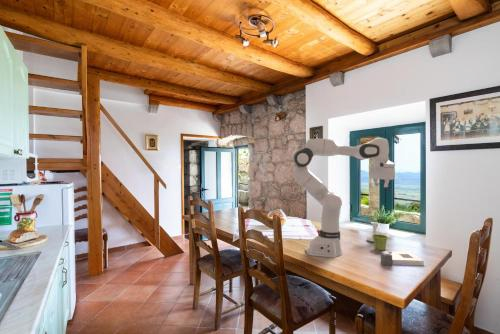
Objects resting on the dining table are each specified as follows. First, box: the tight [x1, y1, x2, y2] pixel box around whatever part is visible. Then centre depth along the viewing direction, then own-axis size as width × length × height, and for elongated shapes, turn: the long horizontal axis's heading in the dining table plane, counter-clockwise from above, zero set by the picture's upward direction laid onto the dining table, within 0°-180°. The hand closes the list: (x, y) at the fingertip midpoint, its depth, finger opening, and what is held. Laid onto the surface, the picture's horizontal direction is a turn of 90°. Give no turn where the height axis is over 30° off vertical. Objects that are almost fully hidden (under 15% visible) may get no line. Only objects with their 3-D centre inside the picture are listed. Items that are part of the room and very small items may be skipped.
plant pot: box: [372, 233, 389, 251], centre depth 163 cm, size 9×9×9 cm
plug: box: [380, 251, 393, 267], centre depth 138 cm, size 4×5×6 cm
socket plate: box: [382, 250, 425, 266], centre depth 143 cm, size 16×14×3 cm
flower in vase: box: [363, 207, 379, 243], centre depth 179 cm, size 13×11×25 cm
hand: (381, 186), depth 151 cm, fingers open, 8 cm apart
